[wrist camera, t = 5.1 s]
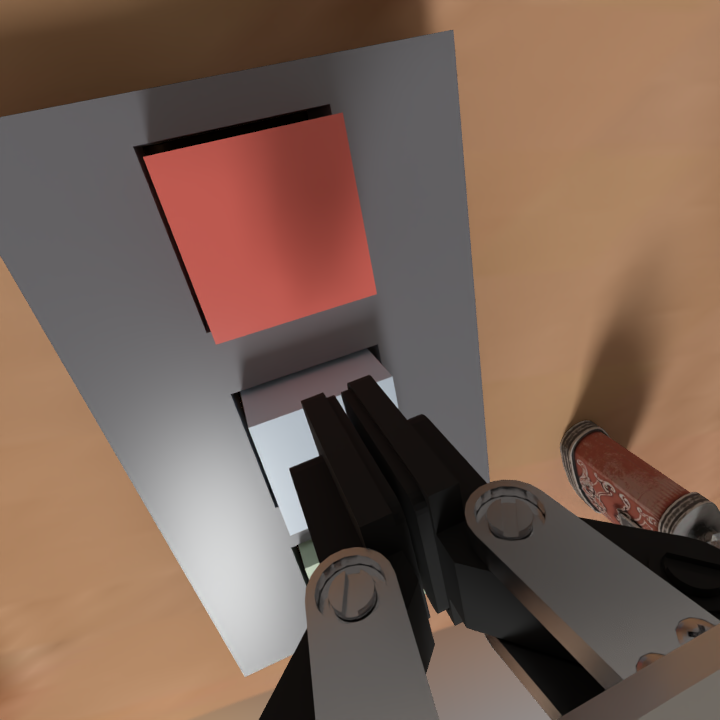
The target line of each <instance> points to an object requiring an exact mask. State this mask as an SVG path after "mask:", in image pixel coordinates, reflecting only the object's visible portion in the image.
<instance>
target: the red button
mask: <svg viewBox="0 0 720 720" xmlns="http://www.w3.org/2000/svg"><path fill="white" fill-rule="evenodd" d="M143 158H144V161H145V164H146V166H147V169H148V171H149V174H150V176H151V179H152V182H153V184H154V187H155V189H156V192H157V194H158V197H159V200H160V202H161V205H162V207H163V210H164V212H165V215H166V218H167V220H168V223H169V225H170V228H171V230H172V233H173V236H174V238H175V241H176V243H177V246H178V248H179V251H180V254H181V256H182V259H183V261H184V264H185V266H186V269H187V272H188V274H189V277H190V279H191V282H192V284H193V287H194V290H195V292H196V295H197V297H198V300H199V302H200V305H201V308H202V310H203V313H204V315H205V318H206V320H207V323H208V326H209V328H210V331H211V333H212V336H213V338H214V341H215V344H216V345H217V344H220V343H223V342H226V341H229V340H233V339H236V338H239V337H242V336H245V335H249V334H252V333H255V332H258V331H261V330H264V329H268V328H271V327H274V326H277V325H280V324H283V323H287V322H290V321H293V320H296V319H299V318H302V317H306V316H309V315H312V314H315V313H318V312H322V311H325V310H328V309H331V308H334V307H337V306H341V305H344V304H347V303H350V302H353V301H356V300H360V299H363V298H366V297H369V296H372V295H376V294H377V291H376V286H375V281H374V275H373V270H372V265H371V260H370V254H369V249H368V244H367V238H366V233H365V228H364V222H363V217H362V212H361V207H360V201H359V196H358V191H357V185H356V180H355V175H354V169H353V164H352V159H351V154H350V148H349V143H348V138H347V132H346V127H345V122H344V116H343V113H338V114H334V115H329V116H325V117H320V118H316V119H311V120H307V121H302V122H298V123H293V124H289V125H284V126H280V127H275V128H271V129H266V130H262V131H257V132H253V133H248V134H244V135H239V136H235V137H230V138H226V139H221V140H217V141H212V142H208V143H203V144H199V145H194V146H190V147H185V148H181V149H176V150H172V151H167V152H163V153H158V154H154V155H149V156H145V157H143Z"/></svg>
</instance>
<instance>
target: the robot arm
mask: <svg viewBox="0 0 720 720" xmlns="http://www.w3.org/2000/svg"><path fill="white" fill-rule="evenodd" d="M347 388H348V390H345V391H343V392H341V397H342V400H343V404H344V407H345V411H346V413H345V411H344V410H343V408H342V406H341V405H340V403H339V401H338V400H337V398H336V396H335V395H332V396H330V397H326V396H325V394H324V393H323V392H322V393H320V394H317V395H315V396H312V397H309V398H307V399H304V400H302V401H301V404H302V407H303V410H304V413H305V416H306V419H307V422H308V425H309V428H310V430H311V433H312V436H313V439H314V442H315V445H316V448H317V451H318V454H319V456H318V457H315V458H313V459H310V460H308V461H305V462H303V463H300V464H298V465H296V466H293V467H291V468H289V471H290V474H291V477H292V480H293V483H294V486H295V490H296V493H297V496H298V499H299V502H300V505H301V508H302V511H303V514H304V517H305V520H306V523H307V527H308V530H309V533H310V536H311V539H312V542H313V545H314V548H315V551H316V554H317V557H318V560H319V563H320V564H319V565H318V567H317V568H316V569H315V571H314V572H313V573H312V575H311V577H310V579H309V582H308V584H307V587H306V593H305V610H306V621H307V629H306V631H305V633H304V635H303V637H302V639H301V640H300V642H299V644H298V646H297V648H296V650H295V652H294V654H293V656H292V658H291V659H290V661H289V663H288V665H287V667H286V669H285V671H284V673H283V675H282V677H281V679H280V680H279V682H278V684H277V686H276V688H275V690H274V692H273V694H272V696H271V698H270V699H269V701H268V703H267V705H266V707H265V709H264V711H263V713H262V715H261V717H260V718H259V720H439V717H438V714H437V710H436V707H435V704H434V701H433V697H432V694H431V690H430V687H429V684H428V680H427V677H426V672H427V669H428V665H429V662H430V658H431V655H432V652H433V649H434V645H435V643H434V640H433V636H432V632H431V628H430V624H429V620H428V619H429V618H430V614H429V610H428V606H427V602H426V598H425V594H424V591H425V593H426V595H427V597H428V598H429V600H430V602H431V604H432V606H433V608H434V609H435V611H436V612H437V613H440V612H442V611H444V610H446V611H447V613H448V614H449V616H450V618H451V620H452V621H453V623H454V625H455V626H456V625H458V624H460V623H462V622H463V623H464V624H465V626H466V627H467V628H469V629H472V630H475V631H479V632H482V633H484V634H485V637H486V638H487V640H488V642H489V643H490V645H491V646H492V648H493V649H494V650H495V651H496V653H497V654H498V655H499V656H500V658H501V659H502V660H503V661H504V662H505V663H506V665H507V666H508V667H509V668H510V670H511V671H512V672H513V673H514V675H515V676H516V677H517V678H518V679H519V681H520V682H521V683H522V684H523V686H524V687H525V688H526V689H527V690H528V692H529V693H530V694H531V695H532V697H533V698H534V699H535V700H536V701H537V703H538V704H539V705H540V706H541V708H542V709H543V710H544V711H545V713H546V714H547V715H548V716H549V717H550V719H551V720H720V533H717V534H713V536H712V541H711V542H704V541H701V540H697V539H694V538H690V537H686V536H680V535H675V534H669V533H664V532H658V531H652V530H647V529H641V528H636V527H630V526H625V525H619V524H613V523H608V522H602V521H597V520H591V519H585V518H580V517H577V516H576V515H574V514H573V513H572V512H570V511H569V510H567V509H566V508H565V507H563V506H562V505H561V504H559V503H558V502H556V501H555V500H554V499H552V498H551V497H550V496H548V495H547V494H545V493H544V492H543V491H541V490H540V489H538V488H536V487H534V486H532V485H531V484H528V483H524V482H521V481H517V480H499V481H493V482H489V483H487V482H486V481H485V480H484V479H483V478H482V477H481V476H480V475H479V474H478V473H477V471H476V470H475V469H474V468H473V467H472V466H471V465H470V464H469V463H468V461H467V460H466V459H465V458H464V457H463V456H462V455H461V454H460V453H459V452H458V450H457V449H456V448H455V447H454V446H453V445H452V444H451V443H450V442H449V441H448V439H447V438H446V437H445V436H444V435H443V434H442V433H441V432H440V431H439V429H438V428H437V427H436V426H435V425H434V424H433V423H432V422H431V421H430V420H429V418H428V417H426V416H425V415H424V414H420V415H417V416H415V417H413V418H410V419H408V420H407V419H406V418H405V416H404V415H403V414H402V413H401V412H400V410H399V409H398V408H397V407H396V406H395V404H394V403H393V402H392V401H391V399H390V398H389V397H388V396H387V395H386V393H385V392H384V391H383V390H382V388H381V387H380V386H379V385H378V384H377V382H376V381H375V380H374V379H373V378H372V376H371V375H367V376H364V377H362V378H359V379H356V380H354V381H351V382H349V383H347ZM423 589H424V590H423Z"/></svg>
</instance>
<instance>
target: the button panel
mask: <svg viewBox="0 0 720 720" xmlns="http://www.w3.org/2000/svg"><path fill="white" fill-rule="evenodd" d="M305 111H307V114H308V119H309V120H311V119H316V118H320V117H325V116H329V115H334V114H338V113H343V116H344V122H345V127H346V132H347V138H348V143H349V148H350V154H351V159H352V164H353V169H354V175H355V180H356V185H357V191H358V196H359V201H360V207H361V212H362V217H363V222H364V228H365V233H366V238H367V244H368V249H369V254H370V260H371V265H372V270H373V275H374V281H375V286H376V291H377V294H376V295H372V296H369V297H366V298H363V299H360V300H356V301H353V302H350V303H347V304H344V305H341V306H337V307H334V308H331V309H328V310H325V311H322V312H318V313H315V314H312V315H309V316H306V317H302V318H299V319H296V320H293V321H290V322H287V323H283V324H280V325H277V326H274V327H271V328H268V329H264V330H261V331H258V332H255V333H252V334H249V335H245V336H242V337H239V338H236V339H233V340H229V341H226V342H223V343H220V344H217V345H216V344H215V341H214V338H213V336H212V333H211V331H210V328H209V326H208V323H207V320H206V318H205V315H204V313H203V310H202V308H201V305H200V302H199V300H198V297H197V295H196V292H195V290H194V287H193V284H192V282H191V279H190V277H189V274H188V272H187V269H186V266H185V264H184V261H183V259H182V256H181V254H180V251H179V248H178V246H177V243H176V241H175V238H174V236H173V233H172V230H171V228H170V225H169V223H168V220H167V218H166V215H165V212H164V210H163V207H162V205H161V202H160V200H159V197H158V194H157V192H156V189H155V187H154V184H153V182H152V179H151V176H150V174H149V171H148V169H147V166H146V164H145V161H144V158H143V157H145V156H146V155H145V153H144V150H143V148H142V147H145V146H149V145H154V144H159V143H163V142H168V141H172V140H177V139H182V138H186V137H191V136H195V135H200V134H204V133H209V132H214V131H218V130H223V129H227V128H232V127H237V126H241V125H246V124H250V123H255V122H259V121H264V120H269V119H273V118H278V117H282V116H287V115H292V114H296V113H301V112H305ZM0 256H1V258H2V259H3V261H4V263H5V264H6V266H7V268H8V270H9V271H10V273H11V275H12V277H13V278H14V280H15V282H16V283H17V285H18V287H19V289H20V290H21V292H22V294H23V295H24V297H25V299H26V301H27V302H28V304H29V306H30V308H31V309H32V311H33V313H34V314H35V316H36V318H37V320H38V321H39V323H40V325H41V326H42V328H43V330H44V332H45V333H46V335H47V337H48V339H49V340H50V342H51V344H52V345H53V347H54V349H55V351H56V352H57V354H58V356H59V357H60V359H61V361H62V363H63V364H64V366H65V368H66V370H67V371H68V373H69V375H70V376H71V378H72V380H73V382H74V383H75V385H76V387H77V388H78V390H79V392H80V394H81V395H82V397H83V399H84V401H85V402H86V404H87V406H88V407H89V409H90V411H91V413H92V414H93V416H94V418H95V419H96V421H97V423H98V425H99V426H100V428H101V430H102V432H103V433H104V435H105V437H106V438H107V440H108V442H109V444H110V445H111V447H112V449H113V450H114V452H115V454H116V456H117V457H118V459H119V461H120V463H121V464H122V466H123V468H124V469H125V471H126V473H127V475H128V476H129V478H130V480H131V481H132V483H133V485H134V487H135V488H136V490H137V492H138V494H139V495H140V497H141V499H142V500H143V502H144V504H145V506H146V507H147V509H148V511H149V512H150V514H151V516H152V518H153V519H154V521H155V523H156V525H157V526H158V528H159V530H160V531H161V533H162V535H163V537H164V538H165V540H166V542H167V543H168V545H169V547H170V549H171V550H172V552H173V554H174V556H175V557H176V559H177V561H178V562H179V564H180V566H181V568H182V569H183V571H184V573H185V574H186V576H187V578H188V580H189V581H190V583H191V585H192V587H193V588H194V590H195V592H196V593H197V595H198V597H199V599H200V600H201V602H202V604H203V605H204V607H205V609H206V611H207V612H208V614H209V616H210V618H211V619H212V621H213V623H214V624H215V626H216V628H217V630H218V631H219V633H220V635H221V636H222V638H223V640H224V642H225V643H226V645H227V647H228V649H229V650H230V652H231V654H232V655H233V657H234V659H235V661H236V662H237V664H238V666H239V667H240V669H241V671H242V673H243V674H244V676H245V677H246V676H248V675H250V674H252V673H254V672H256V671H259V670H261V669H263V668H265V667H267V666H269V665H271V664H273V663H276V662H278V661H280V660H282V659H284V658H286V657H288V656H290V655H292V654H294V652H295V650H296V648H297V646H298V644H299V642H300V640H301V639H302V637H303V635H304V633H305V631H306V629H307V621H306V610H305V593H306V587H307V584H308V582H309V578H308V575H307V573H306V570H305V568H304V565H303V562H302V560H301V557H300V555H299V552H298V550H297V547H296V545H298V544H301V543H303V542H306V541H308V540H310V539H311V536H310V533H309V530H308V529H306V530H303V531H301V532H298V533H296V534H293V535H291V536H290V534H289V531H288V529H287V526H286V524H285V521H284V519H283V516H282V513H281V511H280V508H279V506H278V503H277V501H276V498H275V495H274V493H273V490H272V488H271V485H270V483H269V480H268V477H267V475H266V472H265V470H264V467H263V465H262V462H261V459H260V457H259V454H258V452H257V449H256V447H255V444H254V441H253V439H252V436H251V434H250V431H249V429H248V424H247V420H246V415H245V412H244V409H243V407H242V404H241V402H240V399H239V396H238V394H237V392H239V391H242V390H245V389H248V388H251V387H254V386H257V385H260V384H262V383H265V382H268V381H271V380H274V379H277V378H280V377H283V376H286V375H289V374H292V373H295V372H298V371H301V370H304V369H307V368H310V367H313V366H315V365H318V364H321V363H324V362H327V361H330V360H333V359H336V358H339V357H342V356H345V355H348V354H351V353H354V352H357V351H360V350H363V349H366V348H367V349H368V350H369V351H370V352H371V353H372V354H373V356H374V357H375V358H376V359H377V360H378V361H379V362H380V363H381V364H382V365H383V367H384V368H385V369H386V370H387V371H388V372H389V373H390V374H391V375H392V376H393V382H394V387H395V392H396V397H397V403H398V408H399V410H400V412H401V413H402V414H403V415H404V416H405V418H406V419H407V420H408V419H410V418H413V417H415V416H417V415H420V414H424V415H425V416H426V417H428V418H429V420H430V421H431V422H432V423H433V424H434V425H435V426H436V427H437V428H438V429H439V431H440V432H441V433H442V434H443V435H444V436H445V437H446V438H447V439H448V441H449V442H450V443H451V444H452V445H453V446H454V447H455V448H456V449H457V450H458V452H459V453H460V454H461V455H462V456H463V457H464V458H465V459H466V460H467V461H468V463H469V464H470V465H471V466H472V467H473V468H474V469H475V470H476V471H477V473H478V474H479V475H480V476H481V477H482V478H483V479H484V480H485V481H486V482H487V483H489V482H490V479H489V467H488V454H487V442H486V429H485V417H484V405H483V392H482V380H481V367H480V355H479V342H478V330H477V318H476V305H475V293H474V280H473V268H472V256H471V243H470V231H469V218H468V206H467V194H466V181H465V169H464V156H463V144H462V132H461V119H460V107H459V94H458V82H457V70H456V57H455V45H454V32H453V30H449V31H444V32H439V33H434V34H429V35H423V36H418V37H413V38H408V39H403V40H397V41H392V42H387V43H382V44H377V45H372V46H366V47H361V48H356V49H351V50H346V51H341V52H335V53H330V54H325V55H320V56H315V57H309V58H304V59H299V60H294V61H289V62H284V63H278V64H273V65H268V66H263V67H258V68H252V69H247V70H242V71H237V72H232V73H227V74H221V75H216V76H211V77H206V78H201V79H195V80H190V81H185V82H180V83H175V84H170V85H164V86H159V87H154V88H149V89H144V90H139V91H133V92H128V93H123V94H118V95H113V96H107V97H102V98H97V99H92V100H87V101H82V102H76V103H71V104H66V105H61V106H56V107H50V108H45V109H40V110H35V111H30V112H25V113H19V114H14V115H9V116H4V117H0Z"/></svg>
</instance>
